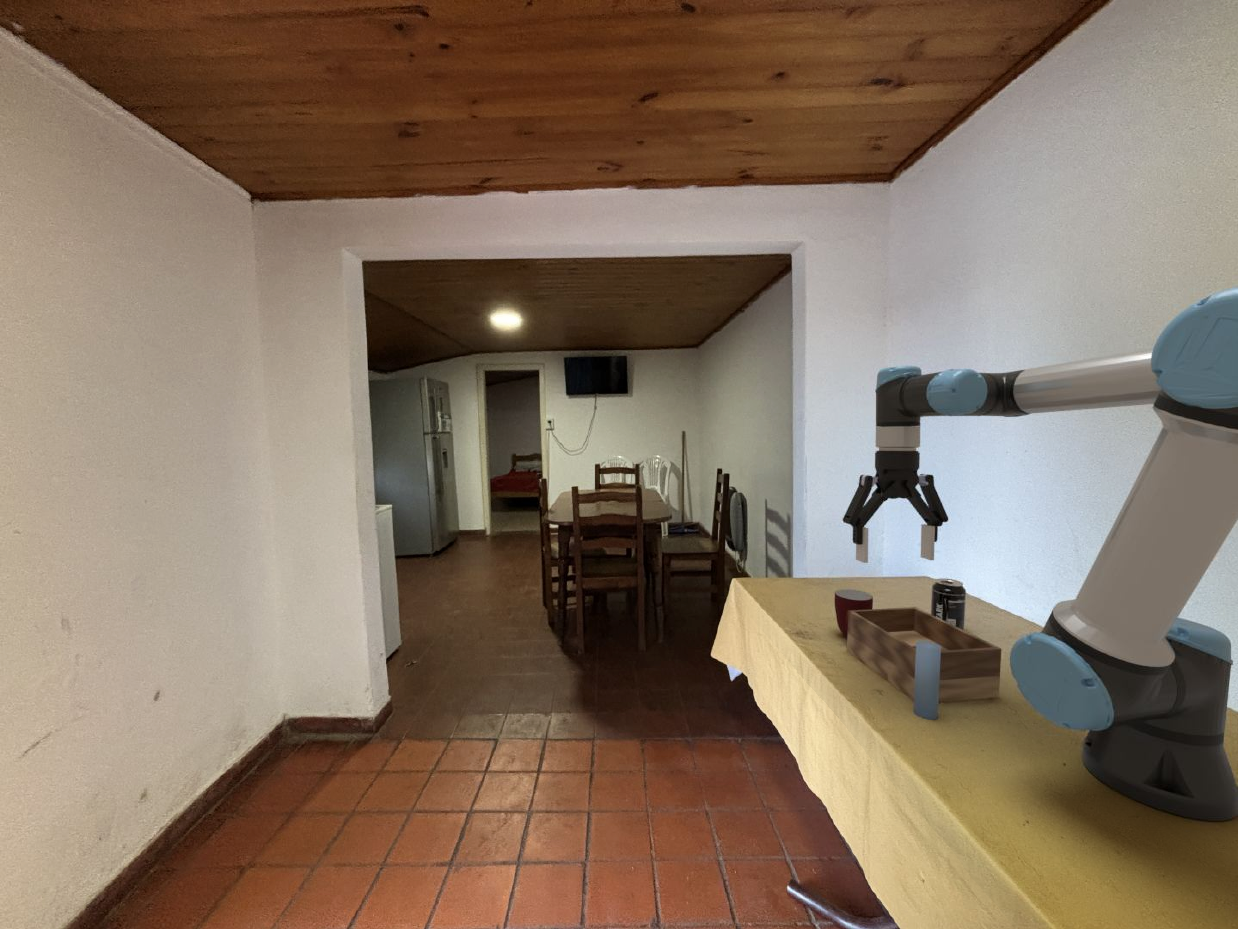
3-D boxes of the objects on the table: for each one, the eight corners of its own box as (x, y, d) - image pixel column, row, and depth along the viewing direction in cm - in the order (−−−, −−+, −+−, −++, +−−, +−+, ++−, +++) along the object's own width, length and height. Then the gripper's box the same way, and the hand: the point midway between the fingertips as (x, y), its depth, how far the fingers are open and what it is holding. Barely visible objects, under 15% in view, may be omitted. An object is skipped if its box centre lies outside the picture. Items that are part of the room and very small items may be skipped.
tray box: (998, 697, 95) (1001, 648, 94) (918, 704, 93) (920, 654, 92) (913, 646, 117) (915, 607, 116) (846, 651, 114) (848, 610, 114)
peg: (942, 718, 88) (946, 649, 87) (923, 720, 88) (926, 650, 87) (927, 707, 92) (930, 640, 91) (908, 708, 91) (911, 641, 90)
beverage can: (928, 624, 130) (930, 576, 129) (961, 628, 127) (963, 579, 126) (931, 633, 124) (934, 583, 123) (966, 638, 121) (968, 587, 120)
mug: (872, 650, 115) (874, 605, 114) (832, 644, 118) (834, 600, 117) (870, 633, 124) (872, 591, 123) (833, 628, 127) (835, 587, 127)
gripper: (942, 448, 105) (939, 553, 106) (825, 449, 102) (823, 557, 103) (972, 449, 98) (969, 562, 99) (846, 450, 95) (844, 567, 96)
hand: (894, 560), depth 101 cm, fingers open, 13 cm apart
